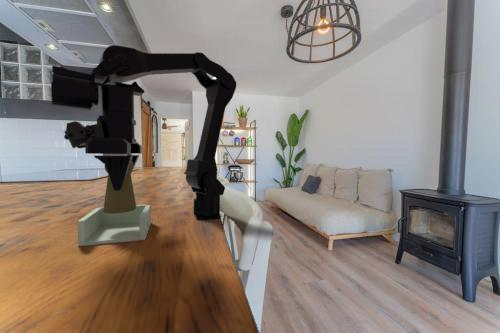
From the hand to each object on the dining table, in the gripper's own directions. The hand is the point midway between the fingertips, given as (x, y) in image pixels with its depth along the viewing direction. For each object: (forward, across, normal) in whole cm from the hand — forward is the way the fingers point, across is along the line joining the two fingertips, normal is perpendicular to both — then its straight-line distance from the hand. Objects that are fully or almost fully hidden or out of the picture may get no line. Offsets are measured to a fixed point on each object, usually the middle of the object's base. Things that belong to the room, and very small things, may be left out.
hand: (120, 188), depth 46 cm
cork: (+5, 0, 0) cm, 5 cm away
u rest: (+10, 0, 0) cm, 10 cm away
